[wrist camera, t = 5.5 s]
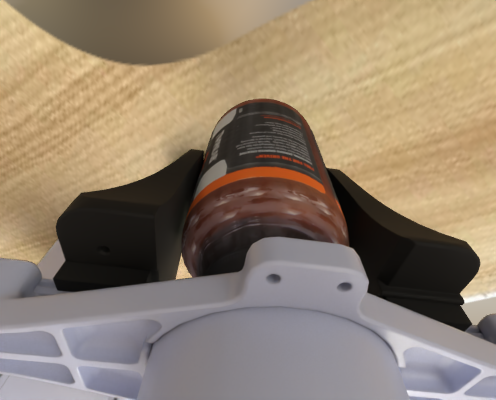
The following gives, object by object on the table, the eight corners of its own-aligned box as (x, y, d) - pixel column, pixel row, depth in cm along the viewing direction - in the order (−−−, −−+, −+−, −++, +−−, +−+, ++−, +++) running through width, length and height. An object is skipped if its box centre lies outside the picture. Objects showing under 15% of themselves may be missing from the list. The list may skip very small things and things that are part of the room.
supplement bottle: (194, 113, 16) (110, 277, 7) (301, 79, 15) (373, 224, 6) (230, 198, 19) (205, 387, 10) (320, 176, 18) (385, 367, 9)
